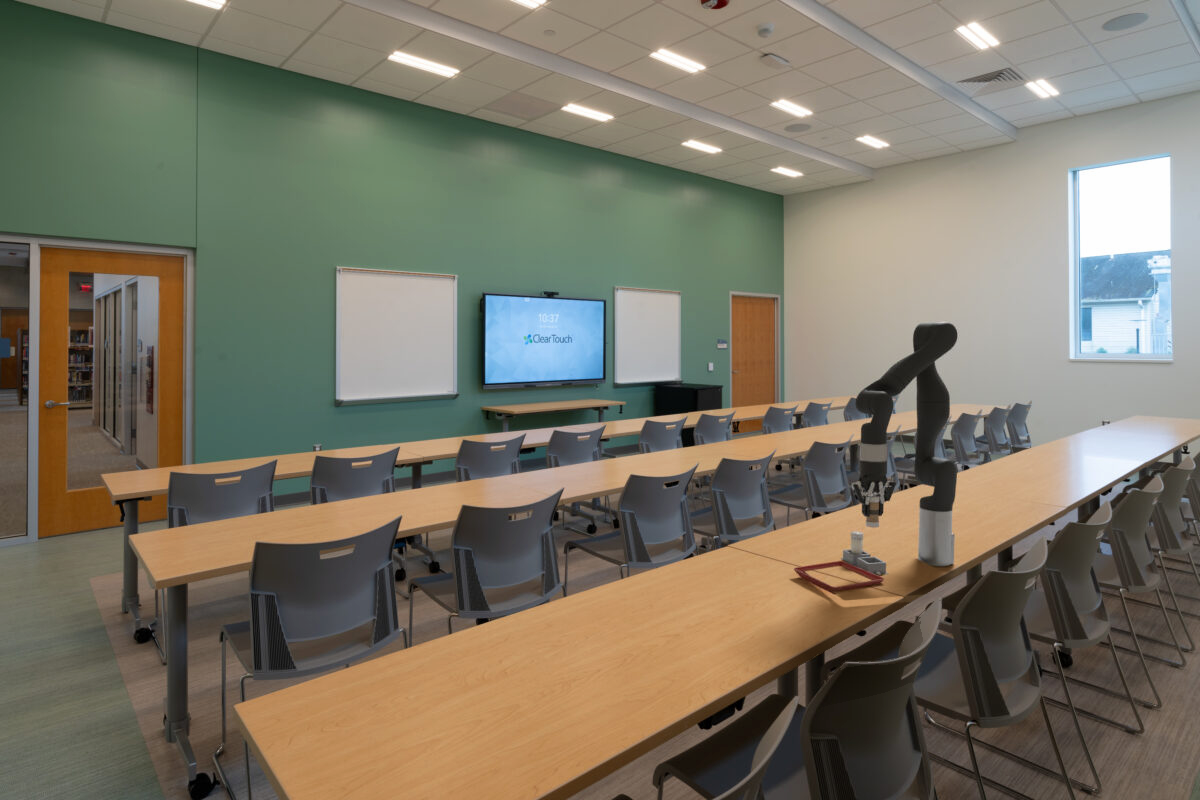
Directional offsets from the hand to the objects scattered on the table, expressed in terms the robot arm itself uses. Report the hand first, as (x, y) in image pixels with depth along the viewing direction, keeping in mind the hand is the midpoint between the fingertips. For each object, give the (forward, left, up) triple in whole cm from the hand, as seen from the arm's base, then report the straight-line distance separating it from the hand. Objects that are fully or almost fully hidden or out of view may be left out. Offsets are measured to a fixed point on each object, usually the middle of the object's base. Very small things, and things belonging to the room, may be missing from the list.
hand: (872, 515), depth 194 cm
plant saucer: (+13, +4, -19) cm, 23 cm away
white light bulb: (0, -8, -17) cm, 18 cm away
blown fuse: (0, 0, -3) cm, 3 cm away
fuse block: (0, -4, -18) cm, 18 cm away
